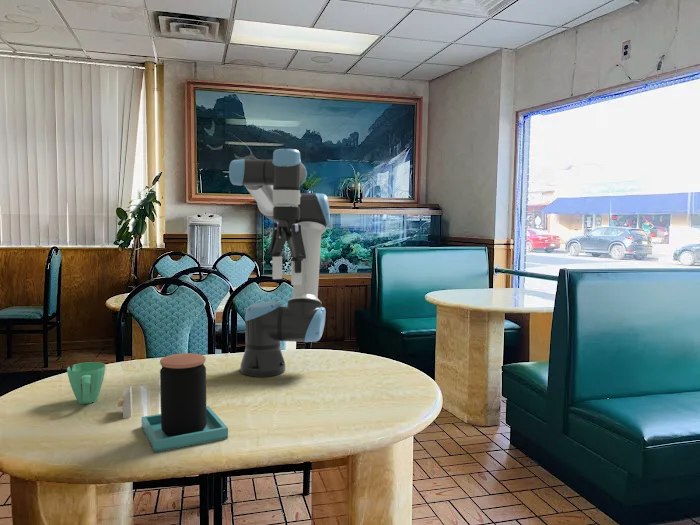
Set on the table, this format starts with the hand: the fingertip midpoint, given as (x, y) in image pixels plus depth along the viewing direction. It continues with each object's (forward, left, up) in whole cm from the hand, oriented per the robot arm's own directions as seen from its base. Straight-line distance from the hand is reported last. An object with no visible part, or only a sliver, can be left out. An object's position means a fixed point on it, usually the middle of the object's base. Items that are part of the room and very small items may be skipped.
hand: (286, 281), depth 158 cm
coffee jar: (+9, -31, -34) cm, 47 cm away
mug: (-24, -50, -35) cm, 66 cm away
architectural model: (-10, -41, -35) cm, 55 cm away
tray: (+9, -31, -35) cm, 47 cm away
